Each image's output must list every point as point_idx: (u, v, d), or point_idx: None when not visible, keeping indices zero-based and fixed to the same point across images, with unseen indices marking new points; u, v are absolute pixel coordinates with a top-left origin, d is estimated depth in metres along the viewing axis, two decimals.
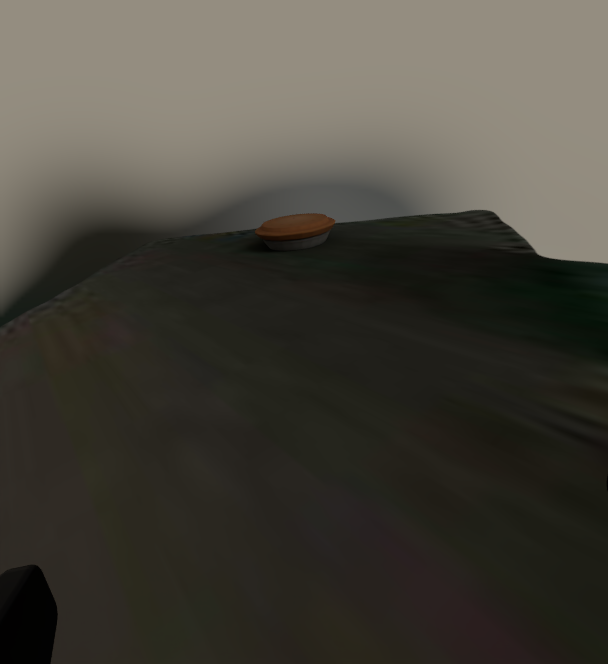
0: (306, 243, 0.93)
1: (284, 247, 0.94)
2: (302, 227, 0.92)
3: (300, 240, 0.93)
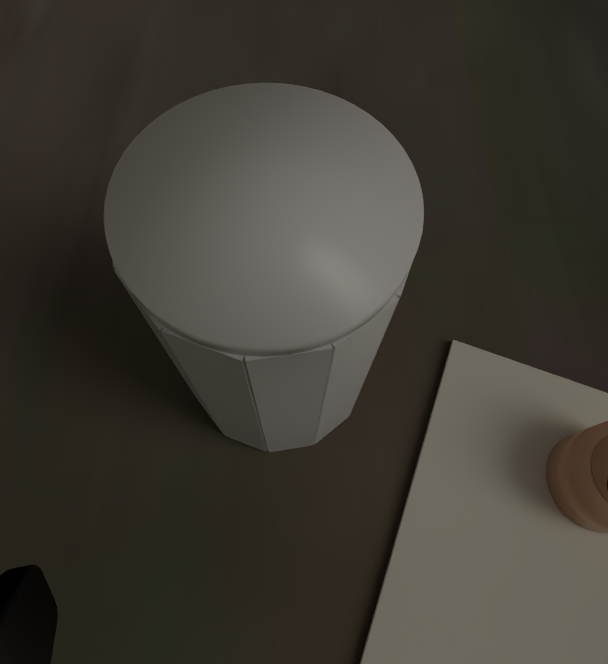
0: None
1: None
2: None
3: None
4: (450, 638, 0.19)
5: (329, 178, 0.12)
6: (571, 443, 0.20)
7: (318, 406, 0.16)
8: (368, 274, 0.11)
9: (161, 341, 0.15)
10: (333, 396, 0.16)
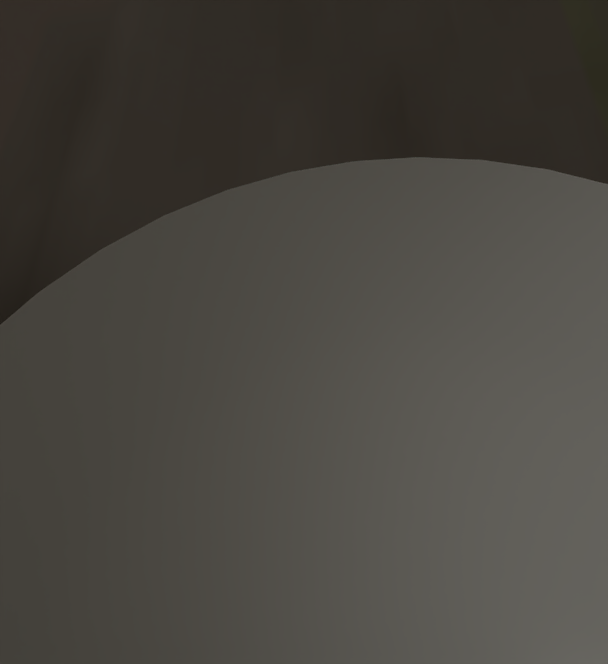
0: None
1: None
2: None
3: None
4: None
5: None
6: None
7: None
8: None
9: None
10: None
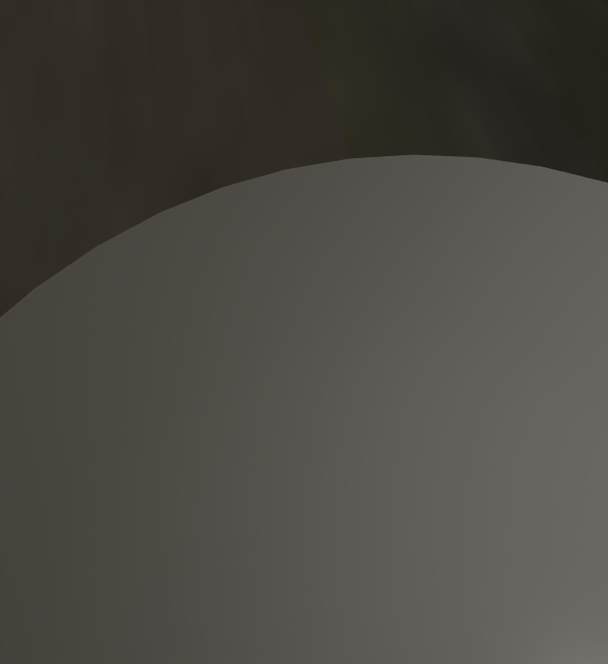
0: None
1: None
2: None
3: None
4: None
5: None
6: None
7: None
8: None
9: None
10: None
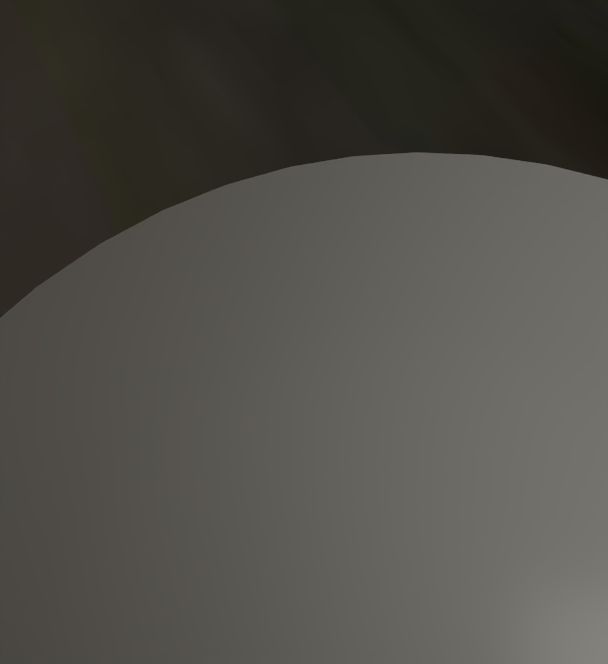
0: None
1: None
2: None
3: None
4: None
5: None
6: None
7: None
8: None
9: None
10: None
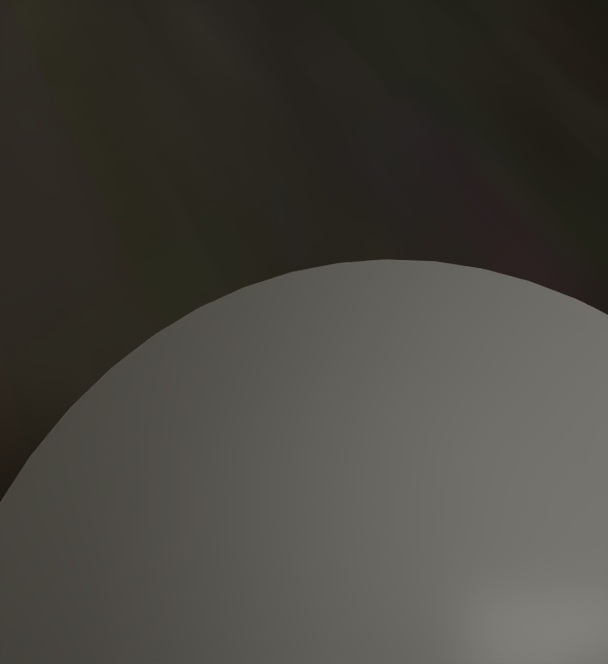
0: None
1: None
2: None
3: None
4: None
5: None
6: None
7: None
8: None
9: None
10: None
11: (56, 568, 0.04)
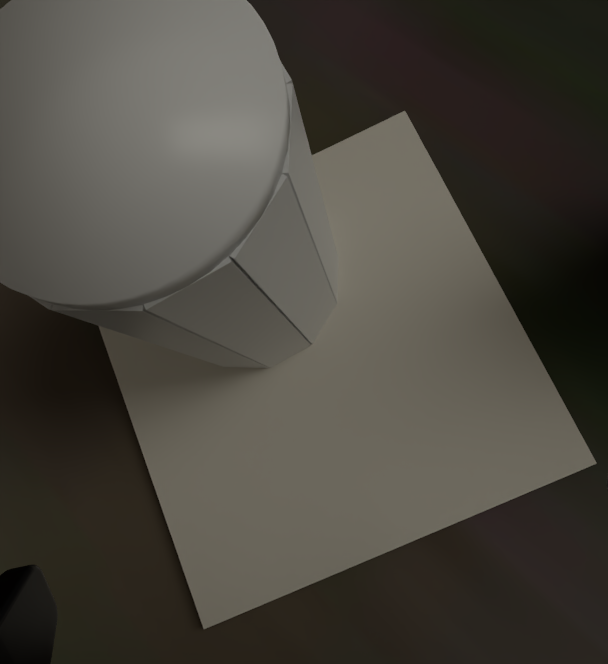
0: None
1: None
2: None
3: None
4: (227, 489, 0.20)
5: (161, 64, 0.10)
6: None
7: (278, 314, 0.14)
8: (238, 163, 0.09)
9: None
10: (289, 298, 0.14)
11: None
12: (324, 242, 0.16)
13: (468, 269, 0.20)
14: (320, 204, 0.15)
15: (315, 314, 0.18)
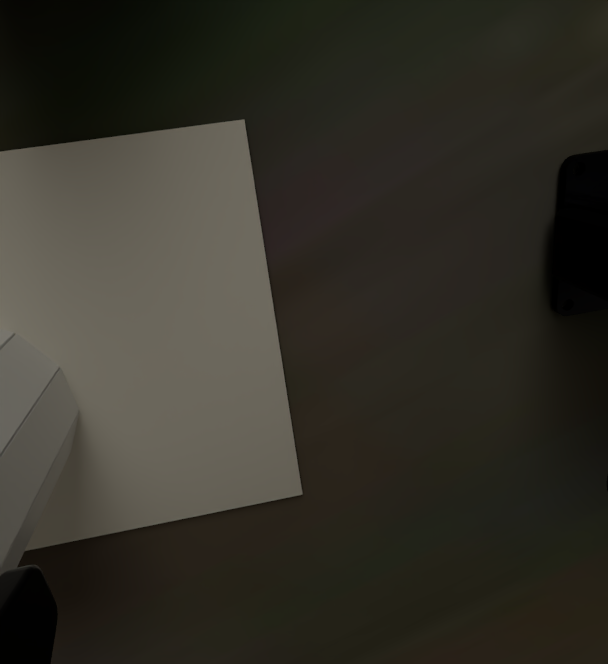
0: None
1: None
2: None
3: None
4: (193, 463, 0.22)
5: None
6: None
7: None
8: None
9: None
10: None
11: None
12: None
13: None
14: None
15: (16, 383, 0.17)
